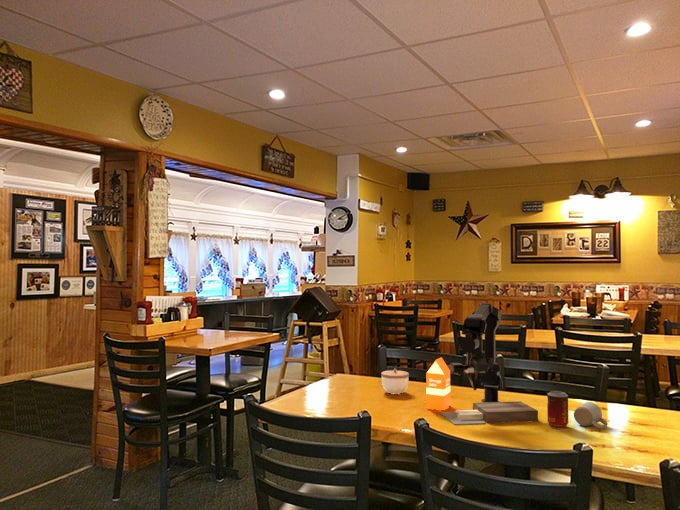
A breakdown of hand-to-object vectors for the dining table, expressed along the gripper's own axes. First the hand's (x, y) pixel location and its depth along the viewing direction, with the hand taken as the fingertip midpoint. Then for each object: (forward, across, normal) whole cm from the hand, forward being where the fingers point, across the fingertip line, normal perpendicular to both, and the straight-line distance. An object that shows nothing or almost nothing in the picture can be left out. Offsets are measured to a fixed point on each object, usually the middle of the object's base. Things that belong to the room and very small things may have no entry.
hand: (474, 390), depth 206 cm
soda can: (+11, +26, -14) cm, 31 cm away
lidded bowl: (+11, -21, +44) cm, 50 cm away
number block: (+10, -2, 0) cm, 11 cm away
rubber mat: (+11, -5, 0) cm, 12 cm away
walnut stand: (+11, +12, 0) cm, 16 cm away
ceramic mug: (+11, +39, -14) cm, 43 cm away
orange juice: (+11, -9, +17) cm, 22 cm away
